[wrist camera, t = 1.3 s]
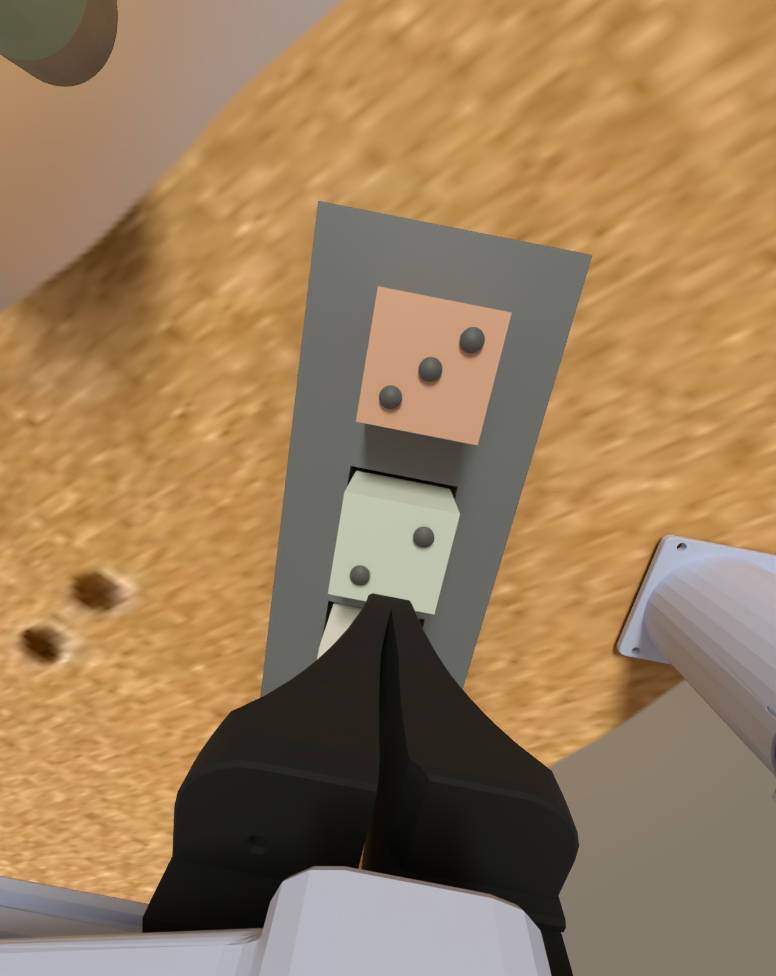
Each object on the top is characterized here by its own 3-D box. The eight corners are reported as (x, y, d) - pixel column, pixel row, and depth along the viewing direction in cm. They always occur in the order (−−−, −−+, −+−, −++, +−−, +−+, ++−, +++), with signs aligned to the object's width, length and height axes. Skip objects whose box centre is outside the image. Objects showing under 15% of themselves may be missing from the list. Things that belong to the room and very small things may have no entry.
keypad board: (573, 267, 18) (592, 255, 16) (442, 719, 26) (445, 747, 24) (327, 219, 18) (318, 200, 16) (269, 686, 26) (258, 711, 24)
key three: (489, 327, 18) (513, 311, 14) (463, 432, 19) (478, 446, 15) (384, 306, 18) (377, 284, 14) (366, 413, 19) (355, 422, 15)
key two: (449, 488, 20) (460, 515, 16) (429, 572, 21) (434, 617, 17) (356, 470, 20) (343, 493, 16) (342, 555, 21) (326, 596, 17)
